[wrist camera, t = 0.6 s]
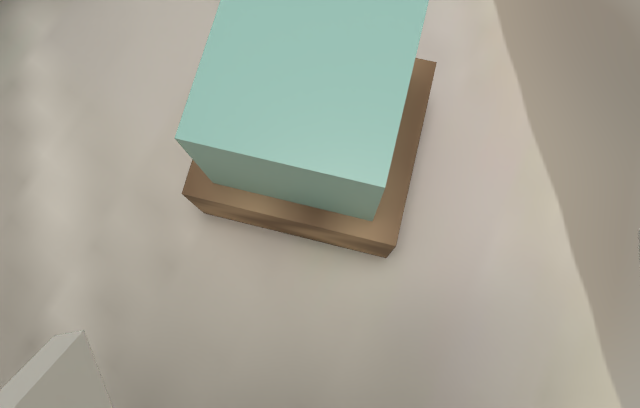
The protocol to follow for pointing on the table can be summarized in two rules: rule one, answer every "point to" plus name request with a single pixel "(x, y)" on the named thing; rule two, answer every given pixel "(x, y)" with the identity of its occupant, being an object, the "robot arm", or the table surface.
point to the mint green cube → (303, 98)
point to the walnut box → (323, 223)
